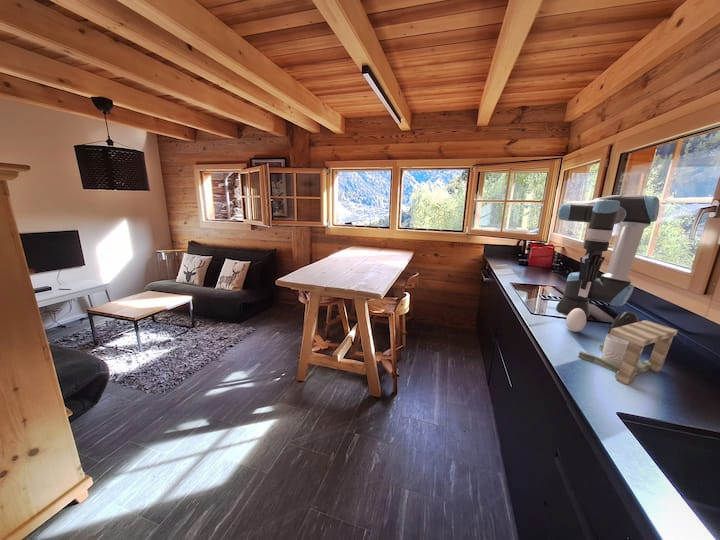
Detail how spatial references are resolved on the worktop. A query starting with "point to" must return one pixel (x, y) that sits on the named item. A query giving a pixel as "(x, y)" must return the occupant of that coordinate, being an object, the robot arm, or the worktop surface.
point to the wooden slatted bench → (637, 349)
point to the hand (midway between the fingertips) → (582, 296)
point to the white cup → (614, 349)
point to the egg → (576, 320)
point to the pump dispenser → (623, 320)
